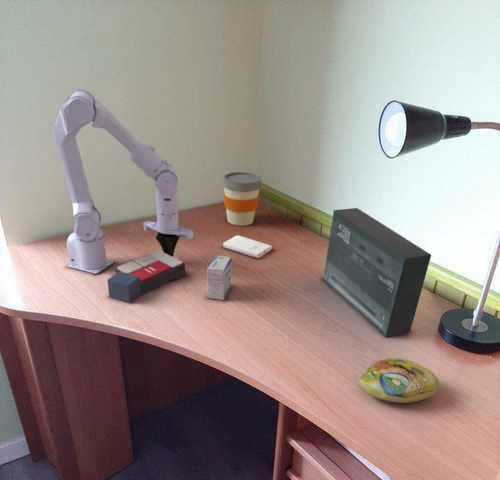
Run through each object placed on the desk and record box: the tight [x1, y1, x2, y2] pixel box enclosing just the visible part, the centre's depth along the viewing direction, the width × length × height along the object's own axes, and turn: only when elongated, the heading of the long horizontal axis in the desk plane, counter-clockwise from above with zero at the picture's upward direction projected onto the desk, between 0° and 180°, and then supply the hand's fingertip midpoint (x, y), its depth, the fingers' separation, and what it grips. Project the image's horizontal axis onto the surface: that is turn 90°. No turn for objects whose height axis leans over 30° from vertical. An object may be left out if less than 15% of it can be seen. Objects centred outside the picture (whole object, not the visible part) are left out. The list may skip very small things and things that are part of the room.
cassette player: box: [323, 207, 432, 338], centre depth 120 cm, size 29×7×20 cm, turn 22°
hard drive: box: [222, 234, 273, 259], centre depth 150 cm, size 2×8×12 cm
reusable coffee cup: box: [222, 171, 262, 227], centre depth 165 cm, size 13×13×15 cm
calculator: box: [114, 249, 187, 294], centre depth 131 cm, size 11×4×15 cm
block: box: [106, 271, 142, 304], centre depth 121 cm, size 6×5×5 cm
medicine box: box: [206, 254, 233, 301], centre depth 124 cm, size 8×4×9 cm, turn 168°
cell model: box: [357, 357, 440, 404], centre depth 96 cm, size 11×8×15 cm
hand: (169, 257), depth 139 cm, fingers closed
